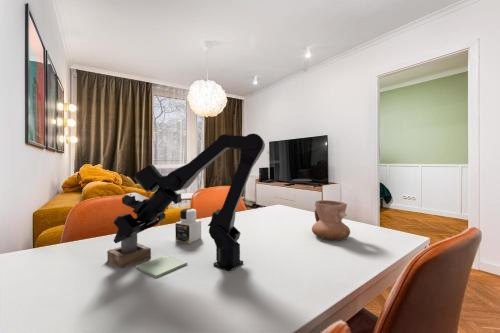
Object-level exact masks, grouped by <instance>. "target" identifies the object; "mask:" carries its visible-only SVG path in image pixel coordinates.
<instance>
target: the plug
mask: <svg viewBox="0 0 500 333" xmlns="http://www.w3.org/2000/svg"><path fill="white" fill-rule="evenodd" d="M137 243H138V233H136V234H135V235H133V236H131V237H129V238H127V239H125V240H122V241H120V247H121V253H122V254H124V255H125V254H128V253H131V252H134V251H137Z"/></svg>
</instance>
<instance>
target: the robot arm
mask: <svg viewBox="0 0 500 333" xmlns="http://www.w3.org/2000/svg"><path fill="white" fill-rule="evenodd" d="M265 146H266V143H265V141H264V140H263V138H262V137H261V135H259V134H257V133H249V134H247V135H246V136H245V135H234V134H233V135H230V134H229V135H228V134H227V133H226V134H225V133H224V134H220V135H219V136H218V137H217V139H215V140H214V141H213V142H212V143H211V144H209V145H208V146H207V147H206V148H205V149H204V150H202V151H201V152H200V153H199V154H198V155H196V156H195V157H194V158H193V159H192V160H191V161H190V162H188V163H186V164H184V165H182V166H179V167H177V168H176V169H174V170H173V171H171V172H169V173H168V174H167V175H162V174H161V173H160V171H158V169H157V167H156V166H155V165H154V164H148V165H147V166H145V167H144V168H142V169H141V170H139V171H137V172H136V173H135V174H134V177H133V179H134V180H135V181H136V182H137V183H138V185H139V186H140V187H141V188H142V189H143V190H144V192H146V193H149V192H151V193H153V194H152V195H151V196H149V198H147V197H145V196H144V195H141V194H140V193H138V192H130V193H126V194H124V196H123V197H122V198H121V203H122V205H125V206H126V207H129V208H131V209H133V210H132V212H133V214H134V215H136V218H135V217H133V215H132V214H131V213H124V214H120V215H118V216H117V217H115V219H114V220H113V225H115V227H117V232H116V233H115V237H114V239H113V242H114V243H115V244H118V243H121V241H122V240H125V239H127V238H129V237H131V236H133V235H135V234H136V233H137V234H139V233H141V232H143V231H146V230H148V229H150V228H152V227H154V226H156V225H158V224H160V223H162V222H163V221H164V220H165V219H166V213H165V212H166V209H167V208H168V207H169V205H171V204H172V203H174V204H175V205H177V204H180V203H182V194H181V193H177V192H178V191H183V190H186V189H188V188H190V186H191V185H192V184H193V183H194V182H195V180H196V179H197V177H198V176H199V175H200V174H201V172H203V171H204V170H205V169H206V168H208V167H209V165H211V164H212V163H213V162H214V161H215V160H217V159H218V158H219V157H221V156H222V155H223V154H224V153H225V152H226V151H228V150H230V149H231V150H238V151H240V156H239V164H238V166H237V169H236V171H235V174H234V176H233V179H232V181H231V184H230V185H229V186H230V187H229V189H228V191H227V194H226V197H225V199H224V202H223V205H222V207H221V209H220V208H218V209H217V210H215V211H214V212H212V215H211V220H210V222H209V223H208V225H207V227H209V229H208V233H209V235H210V237H211V238H212V240H213V241H214V244H215V247H216V250H215V251H216V255H215V256H216V257H215V258H216V260H215V262H213V264H212V265H213V266H214V267H217V268H220V269H224V270H226V271H229V272H230V271H232V270H234V269H236V268H237V267H240V266H241V265H242V264H244V261H243V260H241V243H239V242H238V240H240V236H241V232H240V231H239V230H238V228H236V226H235V220H236V214H237V209H238V205H239V203H240V200H241V197H242V196H243V193H244V190H245V188H246V185H247V182H248V180H249V177H250V175H251V173H252V171H253V170H252V169H253V167H254V166H255V164H256V163H257V162H258V160H259V159H260V157H261V155H262V154H263V152H264V151H265Z"/></svg>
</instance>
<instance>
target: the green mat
mask: <svg viewBox="0 0 500 333" xmlns="http://www.w3.org/2000/svg"><path fill="white" fill-rule="evenodd" d="M187 265H188V262H187V261H185V260H181V259H179V258H177V257H174V256H172V255H169V254H166V255H163V256H160V257H157V258H154V259H151V260H148V261H145V262H143V263H140V264H138V265H135V266H136V269H137V270H140V271H141V272H144V273H145V274H147V275H149V276H152V277H153V278H155V279H157V278H159V277H161V276H164V275H166V274H168V273H171V272H172V271H175V270H177V269H180V268H182V267H185V266H187Z"/></svg>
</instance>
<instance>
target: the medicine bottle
mask: <svg viewBox="0 0 500 333" xmlns="http://www.w3.org/2000/svg"><path fill="white" fill-rule="evenodd" d="M179 218H180V221H176V222H175V227H174V228H175V229H174V230H175V241H176V242H181V243H186V244H191V243H193V242H196V241H198V240H200V239H202V220H201V219H200V220H199V219H197V210H196V209H195V208H192V207H191V208H190V207H189V208H183V209H181V210H180V216H179Z"/></svg>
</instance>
